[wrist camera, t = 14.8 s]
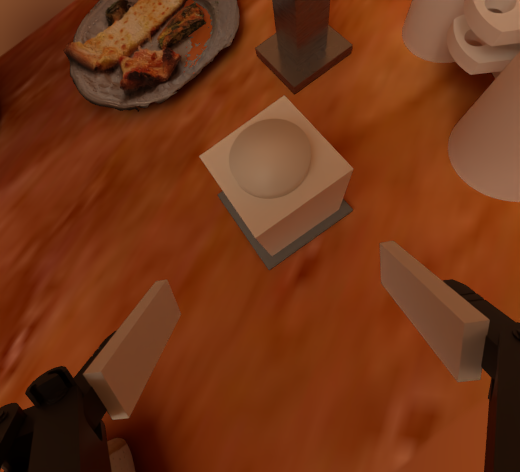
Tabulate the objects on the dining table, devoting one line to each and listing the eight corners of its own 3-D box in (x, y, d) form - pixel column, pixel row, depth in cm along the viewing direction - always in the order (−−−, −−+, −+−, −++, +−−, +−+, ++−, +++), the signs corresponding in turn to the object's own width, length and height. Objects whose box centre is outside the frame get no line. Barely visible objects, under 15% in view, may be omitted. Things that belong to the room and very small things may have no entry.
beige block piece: (230, 196, 26) (193, 148, 18) (291, 153, 26) (283, 84, 18) (272, 256, 24) (252, 234, 16) (339, 209, 24) (356, 161, 15)
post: (256, 55, 31) (230, -69, 20) (308, 17, 31) (309, -127, 20) (294, 94, 28) (286, -24, 18) (351, 53, 28) (376, -90, 18)
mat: (218, 196, 27) (217, 194, 27) (292, 143, 27) (291, 141, 27) (269, 270, 24) (268, 269, 24) (352, 211, 24) (353, 209, 24)
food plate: (131, 149, 31) (110, 130, 28) (56, 63, 38) (32, 40, 35) (274, 23, 32) (271, -9, 29) (176, -37, 40) (164, -68, 36)
